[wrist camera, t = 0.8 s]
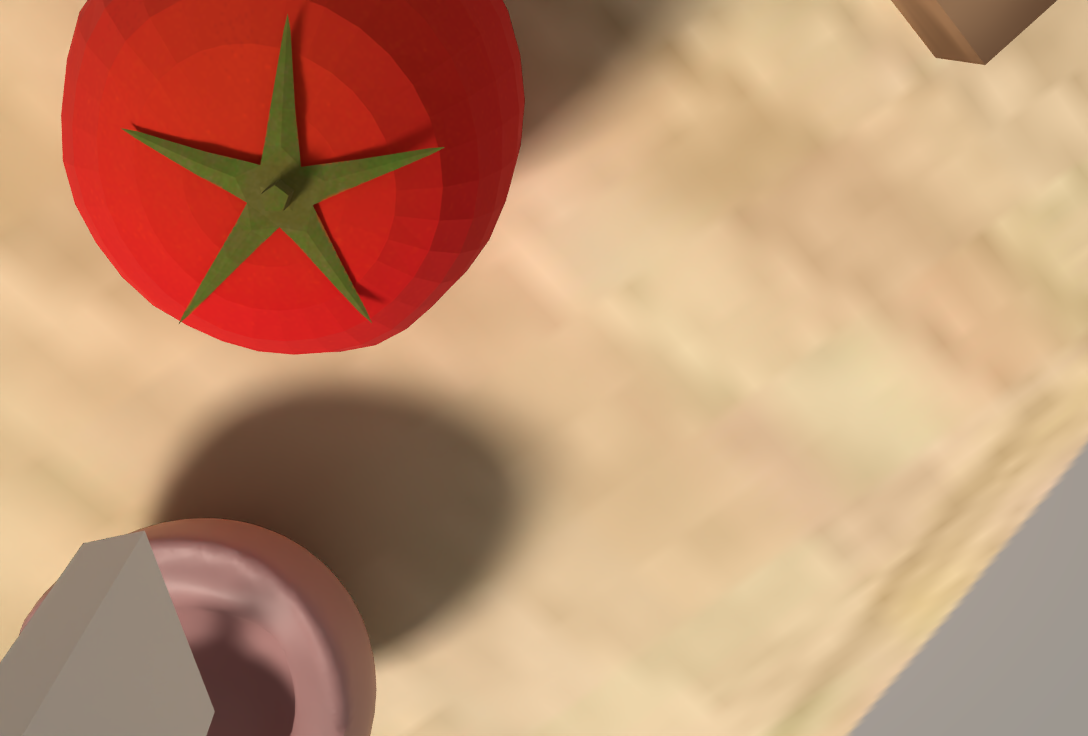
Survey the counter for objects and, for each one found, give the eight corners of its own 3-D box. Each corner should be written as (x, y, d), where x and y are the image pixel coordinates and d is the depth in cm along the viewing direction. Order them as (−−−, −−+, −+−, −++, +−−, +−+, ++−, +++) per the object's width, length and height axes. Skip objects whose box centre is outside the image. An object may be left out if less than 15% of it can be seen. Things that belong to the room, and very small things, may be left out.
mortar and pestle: (312, 417, 38) (248, 584, 27) (434, 667, 42) (420, 899, 31) (19, 524, 39) (-157, 729, 28) (167, 760, 43) (64, 1016, 32)
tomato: (290, 336, 37) (185, 532, 24) (75, 58, 33) (-193, 104, 20) (588, 143, 35) (657, 237, 22) (395, -172, 31) (337, -291, 18)
